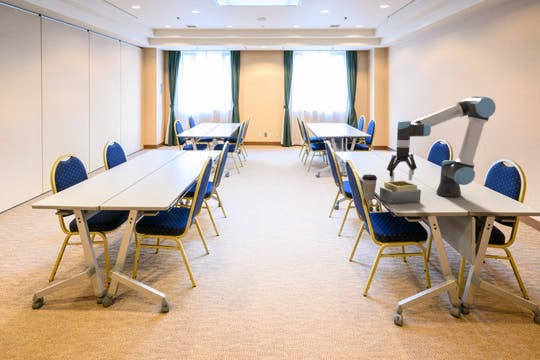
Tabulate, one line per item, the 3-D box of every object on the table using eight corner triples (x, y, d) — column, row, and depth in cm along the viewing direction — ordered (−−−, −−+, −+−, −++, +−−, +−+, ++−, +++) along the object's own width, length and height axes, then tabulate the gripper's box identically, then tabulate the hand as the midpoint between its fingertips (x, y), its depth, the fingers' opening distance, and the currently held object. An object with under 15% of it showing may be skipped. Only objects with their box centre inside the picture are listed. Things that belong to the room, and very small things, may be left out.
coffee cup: (373, 201, 271) (375, 177, 268) (359, 199, 276) (360, 176, 272) (377, 198, 279) (379, 175, 276) (363, 196, 284) (364, 173, 280)
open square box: (406, 196, 282) (407, 180, 280) (419, 202, 269) (421, 185, 267) (379, 199, 276) (380, 182, 274) (391, 204, 263) (392, 187, 261)
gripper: (416, 144, 272) (414, 178, 277) (382, 146, 265) (380, 181, 270) (424, 146, 265) (421, 180, 270) (388, 148, 258) (387, 183, 263)
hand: (401, 180), depth 270 cm, fingers open, 12 cm apart
